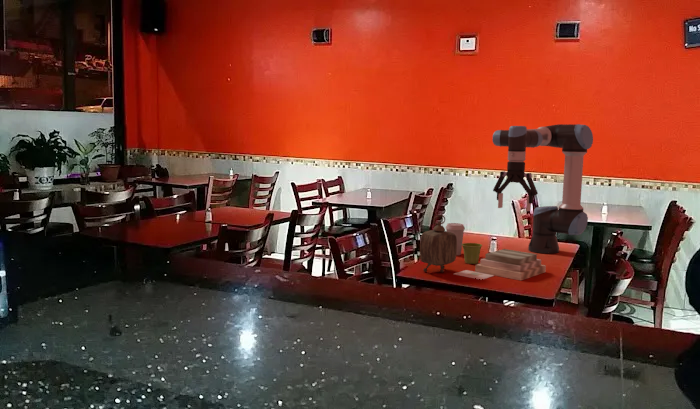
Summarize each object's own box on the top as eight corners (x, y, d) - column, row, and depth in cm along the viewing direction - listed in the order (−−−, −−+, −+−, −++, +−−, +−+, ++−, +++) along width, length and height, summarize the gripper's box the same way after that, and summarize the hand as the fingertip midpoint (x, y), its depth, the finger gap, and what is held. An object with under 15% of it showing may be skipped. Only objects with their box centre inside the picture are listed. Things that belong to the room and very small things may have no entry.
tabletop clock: (442, 267, 281) (444, 212, 278) (457, 271, 274) (459, 215, 270) (419, 271, 272) (420, 215, 269) (433, 276, 265) (435, 217, 262)
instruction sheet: (466, 270, 276) (466, 269, 276) (494, 275, 266) (494, 275, 266) (453, 274, 269) (453, 273, 269) (481, 279, 259) (481, 279, 259)
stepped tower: (501, 264, 290) (501, 247, 289) (545, 272, 275) (546, 254, 274) (475, 271, 274) (475, 253, 273) (520, 280, 259) (521, 261, 258)
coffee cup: (442, 255, 308) (443, 225, 307) (447, 251, 317) (448, 222, 315) (461, 256, 305) (462, 226, 303) (465, 253, 314) (466, 223, 312)
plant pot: (457, 262, 291) (457, 244, 290) (468, 259, 298) (468, 241, 297) (474, 266, 285) (475, 247, 284) (485, 262, 292) (486, 244, 291)
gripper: (486, 160, 279) (484, 207, 282) (539, 162, 263) (536, 212, 265) (495, 159, 285) (493, 205, 287) (547, 162, 268) (544, 211, 271)
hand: (514, 209), depth 276 cm, fingers open, 13 cm apart
